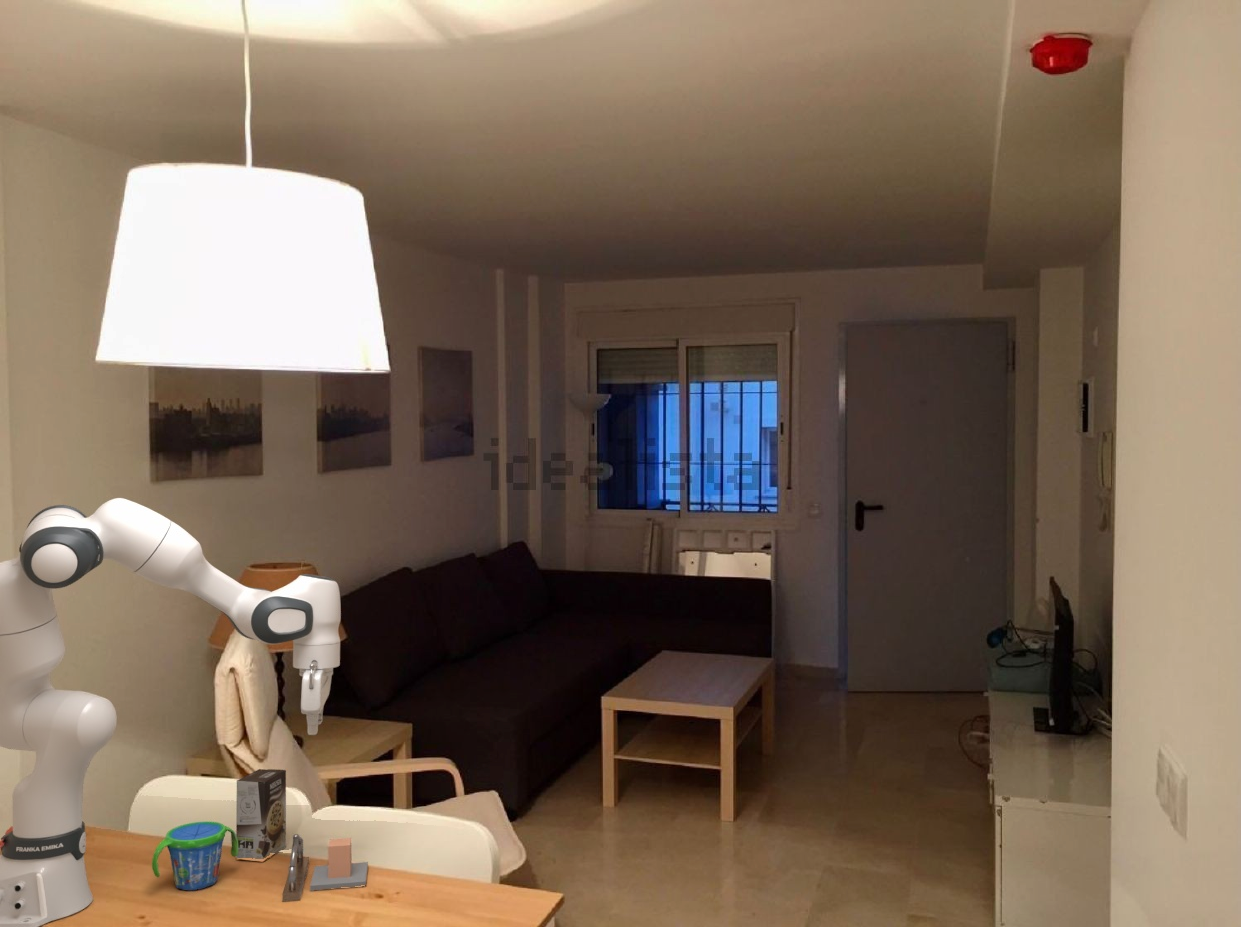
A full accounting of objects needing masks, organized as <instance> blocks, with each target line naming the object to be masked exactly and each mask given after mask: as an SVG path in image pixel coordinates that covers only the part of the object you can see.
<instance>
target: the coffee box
mask: <svg viewBox="0 0 1241 927" xmlns="http://www.w3.org/2000/svg"><path fill="white" fill-rule="evenodd" d="M235 822H236V824H235V825H236V827H235V828H236V831H235V832H236V836H237V839H238V854H237V856H236V857H235V859H236V858H252V859H253V858H255V859H264V858H266V857H267V856H269V855H270V853H276V854H278V853H279V852H281V851H283V850H284V849H285V848H286V847H287V769H271V768H270V769H266V768H265V769H264V768H263V769H262V768H261V769H260V768H259V769H257V770H254V771H253V772H251V773H249V774H247V775H245V776H243V777H241V778H239V779H237V780H236V821H235Z"/></svg>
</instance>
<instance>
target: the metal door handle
mask: <svg viewBox="0 0 1241 927" xmlns="http://www.w3.org/2000/svg"><path fill="white" fill-rule="evenodd" d="M308 864H309V865H310V856H304V839H303V838H302V837H301V836H300V834H298V833H296V834H294V835H293V836H292V846H291V853H290V858H289V866H288V875H287V877H286V881H285V883H284V887H283V891H282V896H281V897H282V903H284V902H297V901H301V897H302V893H303V890H304V886H303V885H305V882H304V881H306V878H305V877H307V874H308V870H307V868H308V869H309V867H308ZM306 873H307V874H306ZM302 889H303V890H302Z"/></svg>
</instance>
